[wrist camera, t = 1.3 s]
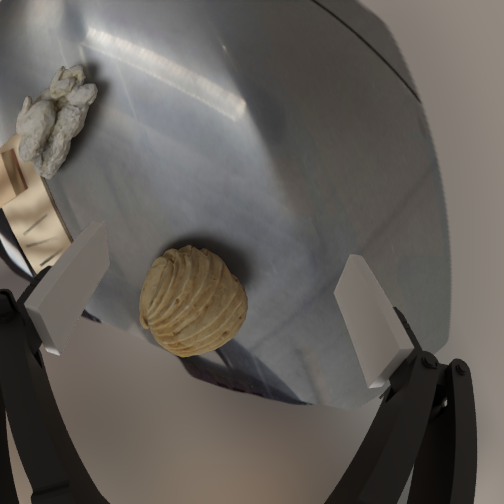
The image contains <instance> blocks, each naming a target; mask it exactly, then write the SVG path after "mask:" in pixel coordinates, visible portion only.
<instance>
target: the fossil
mask: <svg viewBox="0 0 504 504" xmlns="http://www.w3.org/2000/svg"><path fill="white" fill-rule="evenodd" d="M139 309H140V322H141V325H142V326H143V327H144V328H145V329H150V330H151V332H152V334H153V336H154V338H155V340H156V341H157V342H158V343H159V344H160V345H161V346H162V347H163V348H165V349H166V350H168V351H170V352H171V353H173V354H175V355H178V356H180V357H189V356H191V355H199V354H202V353H205V352H208V351H211V350H215V349H217V348H219V347H221V346H222V345H223V344H225V343H226V342H228V341H229V340H230V339H232V338H233V337H234V336H235V335H236V333H237V332H238V331H239V329H240V327H241V325H242V324H243V322H244V321H245V318H246V312H247V310H248V302H247V296H246V292H245V289H244V287H243V286H242V285H241V284H240V282H239V279H238V278H237V277H236V276H235V275H233V274H231V272H230V271H229V269H228V268H227V266H226V264H225V263H224V261H223V260H222V259H221V258H220V257H219V256H218V255H216V254H214V253H212V252H210V251H209V250H208V249H204V248H202V249H200V250H198V249H197V248H195V247H193V246H191V245H187V246H185V247H182V248H180V249H179V250H177V249H173V248H172V249H169V250H167V251H165V253H164V254H163V256H162V257H161V256H160V257H158V258H157V259H156V260H155V261H154V263H153V264H152V266H151V268H150V269H149V271H148V273H147V274H146V279H145V281H144V284H143V286H142V290H141V295H140V305H139Z"/></svg>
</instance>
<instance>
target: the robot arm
mask: <svg viewBox="0 0 504 504" xmlns="http://www.w3.org/2000/svg"><path fill="white" fill-rule="evenodd" d="M109 266H110V262H109V254H108V246H107V236H106V226H105V222H102V221H94V220H93V221H92V222H91V223H90V224H89V225H88V226H87V227H86V228H85V229H84V231H83V232H82V233H81V234H80V235H79V236H78V237H77V238H76V239H75V240H74V241H73V243H72V244H71V245H70V246H69V247H68V248H67V249H66V251H65V252H64V253H63V254H62V255H61V256H60V258H59V259H58V260H57V261H56V262H55V264H54V265H53V266H49V265H48V266H47V267H45V268H44V269H42V270H41V271H40V272H39V273H38V274H37V276H36V277H35V278H34V280H33V281H32V282H31V283H30V286H28V287H27V288H26V290H25V291H24V292H23V294H22V295H21V296H20V298H19V299H18V300H17V302H16V301H15V299H14V296H13V294H12V292H11V291H10V290H9V289H0V504H19V500H18V497H17V493H16V488H15V484H14V479H13V474H12V469H11V463H10V457H9V449H8V441H7V429H6V412H7V417H8V421H9V424H10V428H11V432H12V435H13V438H14V441H15V444H16V448H17V450H18V454H19V456H20V459H21V462H22V464H23V467H24V470H25V472H26V474H27V477H28V479H29V482H30V484H31V486H32V489H33V493H32V496H31V503H32V504H110V503H109V502H108V501H107V500H106V499H105V498H104V497H103V496H102V495H101V493H100V492H99V491H98V489H97V487H96V486H95V484H94V483H93V481H92V479H91V477H90V476H89V474H88V472H87V470H86V468H85V467H84V465H83V463H82V461H81V459H80V457H79V455H78V453H77V451H76V449H75V447H74V445H73V443H72V441H71V438H70V436H69V434H68V431H67V429H66V427H65V424H64V422H63V420H62V417H61V414H60V412H59V409H58V407H57V404H56V401H55V398H54V395H53V392H52V390H51V386H50V383H49V380H48V376H47V373H46V370H45V366H44V362H43V358H42V354H41V352H40V350H39V347H40V346H41V344H42V343H43V345H44V347H45V349H46V351H48V352H51V353H53V354H56V355H61V353H62V351H63V349H64V347H65V345H66V343H67V341H68V339H69V337H70V335H71V333H72V331H73V329H74V327H75V325H76V323H77V321H78V319H79V318H80V316H81V314H82V312H83V310H84V308H85V307H86V305H87V303H88V301H89V299H90V298H91V296H92V294H93V292H94V291H95V289H96V287H97V286H98V284H99V282H100V281H101V279H102V277H103V276H104V274H105V272H106V271H107V269H108V268H109ZM334 295H335V297H336V300H337V302H338V305H339V308H340V310H341V313H342V315H343V318H344V321H345V323H346V326H347V329H348V331H349V334H350V337H351V340H352V342H353V345H354V348H355V351H356V354H357V356H358V359H359V362H360V365H361V368H362V371H363V374H364V377H365V380H366V383H367V386H368V388H374V387H382V386H383V385H384V384H385V382H386V381H387V380H388V379H389V381H390V384H391V385H390V386H389V387H388V388H387V390H386V391H385V392H384V393H383V394H382V395H381V396H380V397H379V398H380V399H381V398H382V397H383V396H384V398H383V401H382V403H381V405H380V407H379V409H378V412H377V414H376V416H375V418H374V420H373V422H372V424H371V426H370V428H369V431H368V433H367V434H366V436H365V438H364V440H363V442H362V444H361V446H360V447H359V450H358V451H357V453H356V455H355V457H354V458H353V460H352V462H351V463H350V465H349V467H348V468H347V470H346V472H345V473H344V475H343V476H342V478H341V480H340V481H339V483H338V484H337V486H336V487H335V489H334V490H333V492H332V493H331V495H330V496H329V497H328V499H327V500H326V502H325V503H324V504H397V502H398V500H399V498H400V496H401V493H402V491H403V489H404V487H405V485H406V482H407V480H408V477H409V475H410V472H411V470H412V468H413V465H414V470H413V475H412V481H411V486H410V491H409V496H408V500H407V504H474V496H475V486H476V473H477V427H476V412H475V402H474V394H473V386H472V379H471V373H470V369H469V367H468V366H467V364H466V363H465V362H464V361H462V360H461V359H454V360H453V361H452V362H451V363H450V364H449V365H445V364H440V363H439V362H438V360H437V359H436V357H435V356H434V355H433V354H431V353H430V352H427V351H423V350H422V348H421V346H420V345H419V343H418V341H417V339H416V337H415V335H414V333H413V331H412V330H411V328H410V326H409V324H407V321H406V319H405V317H404V315H403V314H402V313H401V312H400V311H399V310H398V309H397V308H396V307H392V305H391V303H390V302H389V300H388V298H387V296H386V295H385V293H384V291H383V290H382V288H381V286H380V285H379V283H378V281H377V279H376V278H375V276H374V275H373V273H372V271H371V270H370V268H369V266H368V265H367V263H366V262H365V260H364V258H363V257H362V256H360V255H354V254H350V255H349V258H348V260H347V263H346V265H345V268H344V270H343V272H342V275H341V277H340V280H339V282H338V284H337V287H336V289H335V291H334ZM446 400H447V406H445V405H444V402H445V401H446ZM5 408H6V409H5ZM414 462H415V463H414Z"/></svg>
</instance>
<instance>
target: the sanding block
mask: <svg viewBox="0 0 504 504" xmlns="http://www.w3.org/2000/svg"><path fill="white" fill-rule="evenodd" d="M27 189H28V187H27V184H26V182H25V179H24V177H23V174H22V171H21V168H20V166H19V163H18V160H17V157H16V154H15V151H14V148H13V149H10V150H8V151H6V152H3V153H1V154H0V208H1V207H3V206H4V205H6V204H7V203H8V202H10V201H11V200H13V199H14V198H15V197H17V196H18V195H20V194H21V193H22V192H24V191H25V190H27Z"/></svg>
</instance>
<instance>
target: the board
mask: <svg viewBox="0 0 504 504" xmlns="http://www.w3.org/2000/svg"><path fill="white" fill-rule="evenodd" d="M20 140H21V136H20V135H18V134H17V133H16V134H15V135H14V136H13V137H11V138H10V139H9V140H8V141H7V142H6V143H5V144H4V145H3V146H2V147H1V148H0V154H1V153H3V152H6V151H8V150H10V149H13V148H14V151H15V154H16V157H17V160H18V163H19V166H20V168H21V171H22V174H23V177H24V179H25V182H26V184H27V187H28V189H27V190H25V191H24V192H22V193H21V194H20V195H18V196H17V197H15V198H14V199H13V200H11V201H10V202H8V203H7V204H6V205H4V206H3V207H2V209H3V211H4V213H5V215H6V218H7V220H8V222H9V224H10V226H11V228H12V230H13V232H14V234H15V236H16V238H17V240H18V242H19V244H20V246H21V248H22V249H23V251H24V253H25V255H26V257H27V258H28V260H29V262H30V264H31V265H32V267H33V269H34V270H35V272H36V274H38V273H39V272H40V271H41V270H42V269H44V268H45V267H47V266H48V265H49V266H53V265H54V264H55V262H56V261H57V260H58V259H59V258H60V256H61V255H62V254H63V253H64V252H65V251H66V249H67V248H68V247H69V246H70V245H71V244H72V243H73V240H72V238H71V236H70V234H69V232H68V230H67V228H66V226H65V224H64V222H63V220H62V218H61V216H60V214H59V212H58V209H57V207H56V205H55V203H54V201H53V198H52V196H51V194H50V191H49V189H48V187H47V184H46V182H45V179H44V177H42V176H40V175H39V174H38V173H37V172H36V171H35V169H34V165H33V162H28V163H26V162H23V161H22V160H21V159H20V157H19V153H18V148H19V143H20Z"/></svg>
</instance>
